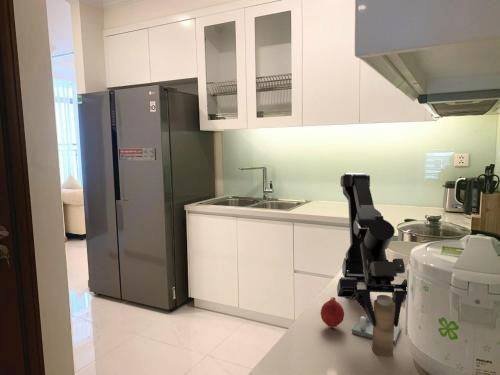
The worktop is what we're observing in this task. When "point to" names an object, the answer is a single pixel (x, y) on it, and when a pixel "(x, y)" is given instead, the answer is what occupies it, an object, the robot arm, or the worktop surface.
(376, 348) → the pepper mill
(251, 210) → the worktop surface
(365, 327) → the pin tray
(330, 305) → the pomegranate
